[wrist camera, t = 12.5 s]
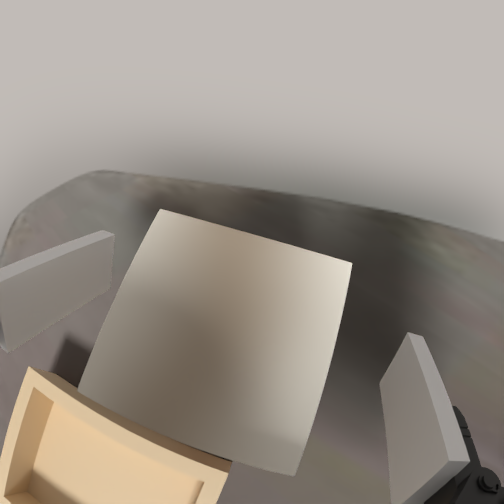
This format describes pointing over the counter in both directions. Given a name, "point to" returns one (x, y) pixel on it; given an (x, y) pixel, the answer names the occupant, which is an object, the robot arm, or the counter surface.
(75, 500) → the beige open tray
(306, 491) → the counter surface
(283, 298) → the two-tone block
